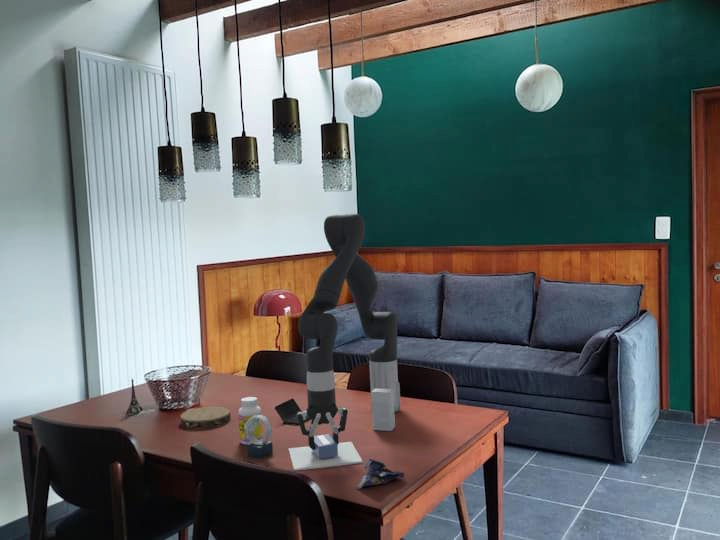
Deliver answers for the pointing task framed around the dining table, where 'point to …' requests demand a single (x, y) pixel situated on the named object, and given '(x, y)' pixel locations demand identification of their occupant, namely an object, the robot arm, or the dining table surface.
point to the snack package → (377, 474)
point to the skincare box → (383, 409)
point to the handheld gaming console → (289, 412)
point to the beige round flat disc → (205, 417)
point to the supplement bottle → (245, 413)
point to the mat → (309, 460)
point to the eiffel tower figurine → (136, 406)
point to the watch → (258, 446)
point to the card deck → (325, 446)
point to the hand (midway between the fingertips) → (323, 447)
